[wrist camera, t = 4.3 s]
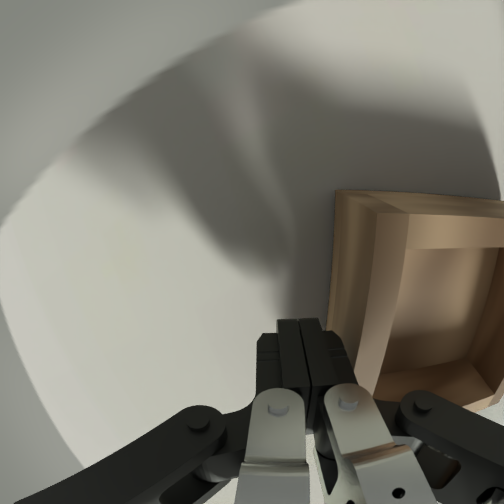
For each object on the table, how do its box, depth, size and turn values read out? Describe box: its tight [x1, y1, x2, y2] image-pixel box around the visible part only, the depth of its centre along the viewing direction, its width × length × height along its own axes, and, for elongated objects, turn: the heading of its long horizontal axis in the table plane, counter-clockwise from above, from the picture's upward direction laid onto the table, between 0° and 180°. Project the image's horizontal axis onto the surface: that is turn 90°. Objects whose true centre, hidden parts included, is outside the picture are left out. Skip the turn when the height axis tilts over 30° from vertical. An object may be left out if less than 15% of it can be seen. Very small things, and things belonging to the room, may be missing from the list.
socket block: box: [326, 190, 504, 412], centre depth 11 cm, size 10×10×4 cm
